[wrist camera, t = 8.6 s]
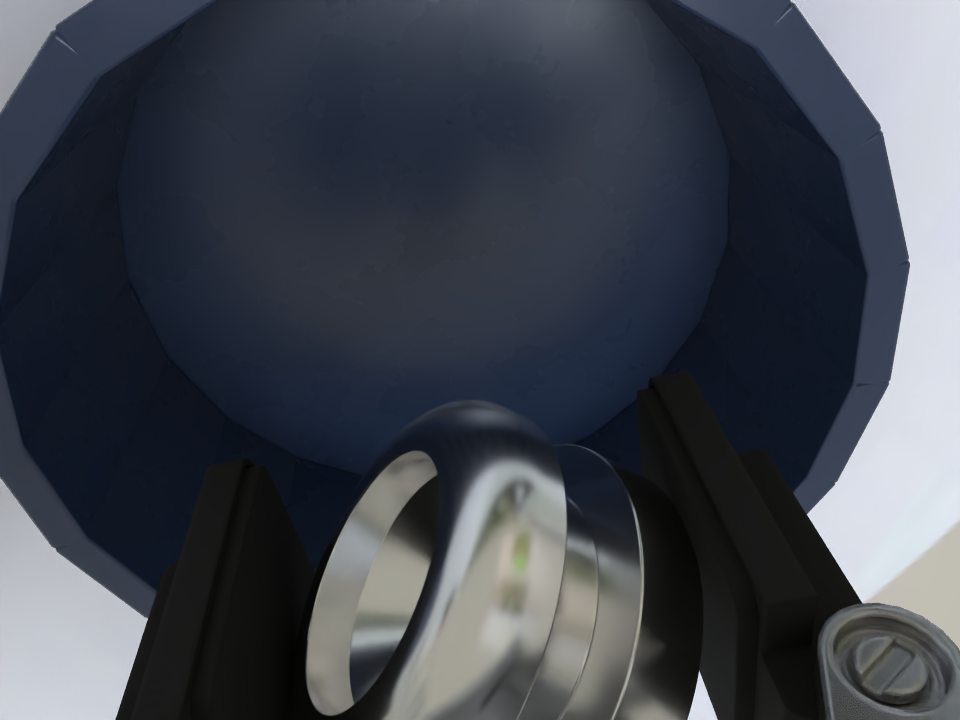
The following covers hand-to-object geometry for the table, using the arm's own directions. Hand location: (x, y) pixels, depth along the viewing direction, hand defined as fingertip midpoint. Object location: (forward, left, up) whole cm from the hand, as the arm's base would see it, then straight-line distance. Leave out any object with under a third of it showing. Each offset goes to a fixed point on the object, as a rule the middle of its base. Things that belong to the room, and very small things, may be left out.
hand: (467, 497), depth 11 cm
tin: (0, 0, -8) cm, 8 cm away
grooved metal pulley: (0, 0, -1) cm, 1 cm away
